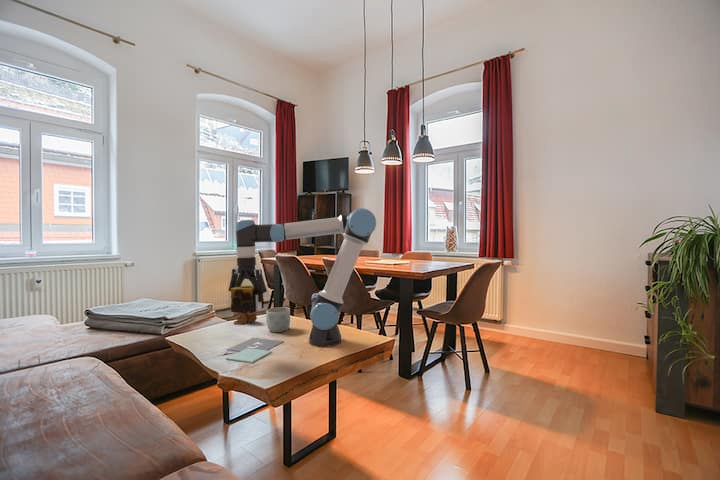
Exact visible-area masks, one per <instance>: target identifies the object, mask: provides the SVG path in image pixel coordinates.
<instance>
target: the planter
mask: <svg viewBox="0 0 720 480" xmlns="http://www.w3.org/2000/svg"><path fill="white" fill-rule="evenodd" d="M265 311H266V312H265V313H266V314H265V315H266V326H267V329H268V331H269V332H272V333H282V332H285V331H288V329H289V328H290V326H291V325H290V324H291V309H290V307H283V306H282V307H281V306H280V307H279V306H277V307H272V308H268V309H267V310H265Z"/></svg>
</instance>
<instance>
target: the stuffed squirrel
mask: <svg viewBox="0 0 720 480" xmlns="http://www.w3.org/2000/svg"><path fill="white" fill-rule="evenodd" d="M232 316H233V317H236V316H237V319H236V320H235V321H234V322H233V324H234V325H244V324H243V323H245V324H252V323H254V322H256V321H257V319H258V317H257V311H256V312H253V313H246V312H244V313H238V312H232Z"/></svg>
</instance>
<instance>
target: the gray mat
mask: <svg viewBox="0 0 720 480" xmlns="http://www.w3.org/2000/svg"><path fill="white" fill-rule="evenodd" d="M284 342H285V341H284V340H277V339H267V338H259V337H252V338H250V339H247V340H244V341H243V342H240V343H238V344H235V345H234V346H231V347H229V348H227V349H226V351H232V352H237V353H238V352H240V351H242V350H244V349H247V348H250V349H258V350H266V351H270V350H271V349H272V348H274V347H277V346H279V345H280V344H282V343H284Z"/></svg>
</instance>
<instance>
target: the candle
mask: <svg viewBox="0 0 720 480" xmlns="http://www.w3.org/2000/svg"><path fill="white" fill-rule="evenodd" d="M256 294H257V292H256V290H255V288H254V287H253V285H252V284H241V286H238V287H235V288H231V291H230V298H231V301H230V309H231V310H230V311H231V313H234V312H238V313H244V312H246V313H253V312H256V313H257V312H258V311H259V310H256ZM264 305H265V302H264V297H263V301H262V309H264V307H265V306H264Z"/></svg>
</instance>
